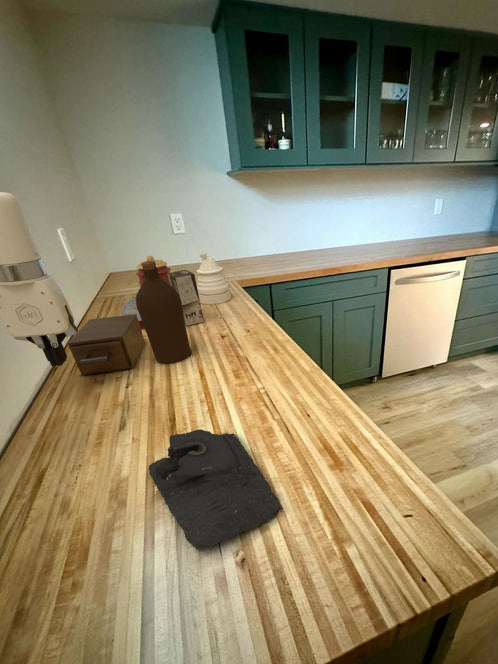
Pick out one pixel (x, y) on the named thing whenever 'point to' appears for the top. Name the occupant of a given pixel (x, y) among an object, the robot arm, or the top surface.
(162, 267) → the kitchen canister
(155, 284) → the olive oil
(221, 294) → the honey pot
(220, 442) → the folded black cloth
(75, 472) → the top surface
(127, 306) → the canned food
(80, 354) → the drawer
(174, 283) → the coffee box
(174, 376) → the top surface
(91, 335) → the cabinet
